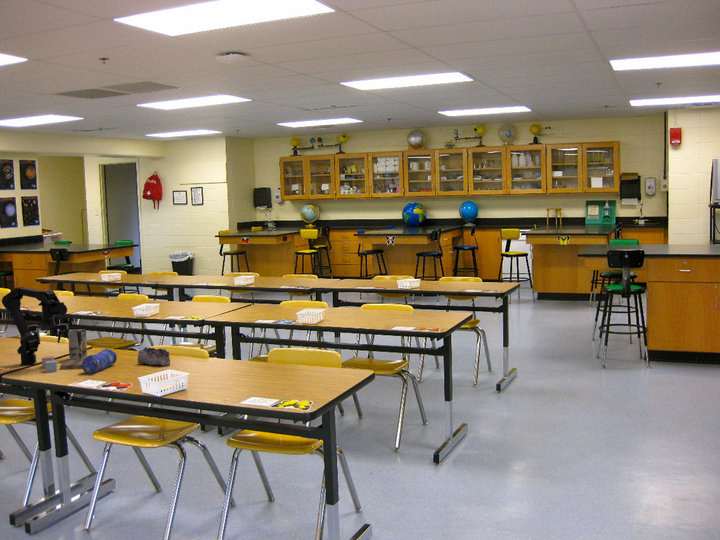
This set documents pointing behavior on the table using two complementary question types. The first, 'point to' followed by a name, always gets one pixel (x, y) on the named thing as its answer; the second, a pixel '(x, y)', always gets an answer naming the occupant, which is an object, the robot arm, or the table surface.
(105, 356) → the pencil case
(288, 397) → the table surface
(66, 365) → the plinth
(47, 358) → the terracotta block
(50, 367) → the slate block
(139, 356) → the geode
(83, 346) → the coffee box
